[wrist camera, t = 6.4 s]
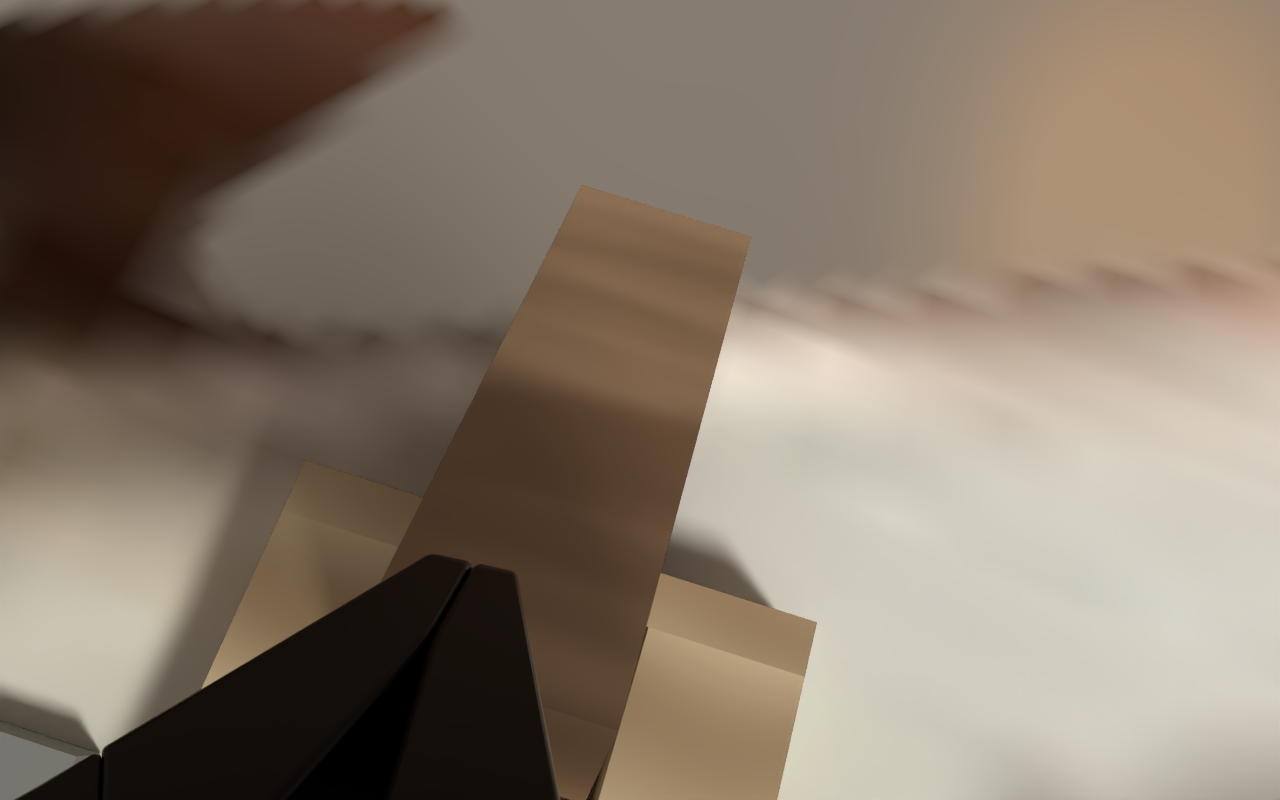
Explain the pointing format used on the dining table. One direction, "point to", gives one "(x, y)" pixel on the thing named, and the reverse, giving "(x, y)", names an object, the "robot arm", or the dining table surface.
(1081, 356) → the dining table surface
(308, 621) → the oak holder
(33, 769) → the grey mat
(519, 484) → the walnut block
